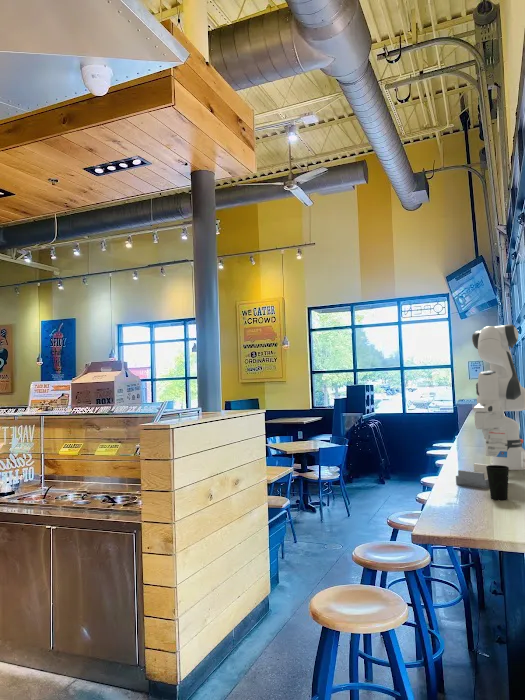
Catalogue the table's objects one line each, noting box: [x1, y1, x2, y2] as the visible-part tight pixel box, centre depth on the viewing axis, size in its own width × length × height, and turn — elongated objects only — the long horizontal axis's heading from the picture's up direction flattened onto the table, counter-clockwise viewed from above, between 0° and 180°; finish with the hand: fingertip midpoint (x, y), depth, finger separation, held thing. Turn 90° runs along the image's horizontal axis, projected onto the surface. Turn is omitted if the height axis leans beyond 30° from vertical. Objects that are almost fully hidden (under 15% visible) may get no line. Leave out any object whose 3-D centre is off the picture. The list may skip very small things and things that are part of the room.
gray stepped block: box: [455, 469, 490, 489], centre depth 219 cm, size 16×13×6 cm
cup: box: [486, 464, 510, 502], centre depth 191 cm, size 8×8×12 cm
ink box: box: [485, 428, 507, 457], centre depth 226 cm, size 9×5×12 cm, turn 70°
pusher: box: [473, 462, 490, 479], centre depth 221 cm, size 5×10×7 cm, turn 39°
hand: (491, 438), depth 227 cm, fingers closed on ink box, 6 cm apart
